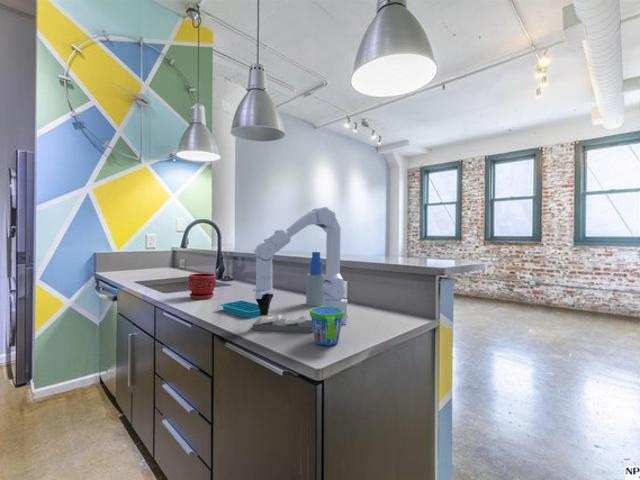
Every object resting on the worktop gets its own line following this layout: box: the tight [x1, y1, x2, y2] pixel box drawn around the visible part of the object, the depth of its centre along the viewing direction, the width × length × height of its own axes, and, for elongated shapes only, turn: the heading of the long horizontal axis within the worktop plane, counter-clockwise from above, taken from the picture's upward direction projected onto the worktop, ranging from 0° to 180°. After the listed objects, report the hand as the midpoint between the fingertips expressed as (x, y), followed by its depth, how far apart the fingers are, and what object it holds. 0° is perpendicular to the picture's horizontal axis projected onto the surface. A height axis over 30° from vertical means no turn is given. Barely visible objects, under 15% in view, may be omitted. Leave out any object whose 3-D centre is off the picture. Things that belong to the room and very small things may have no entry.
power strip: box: [251, 317, 313, 334], centre depth 113 cm, size 21×8×3 cm, turn 84°
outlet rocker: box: [260, 314, 283, 324], centre depth 111 cm, size 7×4×1 cm, turn 83°
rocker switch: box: [285, 315, 308, 325], centre depth 110 cm, size 7×4×1 cm, turn 83°
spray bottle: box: [305, 251, 326, 308], centre depth 150 cm, size 9×9×25 cm
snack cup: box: [309, 306, 344, 347], centre depth 99 cm, size 16×10×10 cm
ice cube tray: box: [220, 300, 271, 319], centre depth 134 cm, size 12×20×3 cm, turn 51°
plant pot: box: [188, 272, 217, 300], centre depth 161 cm, size 13×13×12 cm
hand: (264, 315), depth 112 cm, fingers closed
